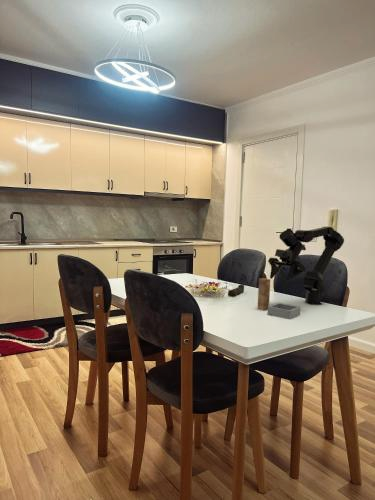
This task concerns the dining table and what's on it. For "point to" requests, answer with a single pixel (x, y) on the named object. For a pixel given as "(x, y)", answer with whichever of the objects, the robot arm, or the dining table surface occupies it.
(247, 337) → the dining table surface
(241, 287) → the hand tool
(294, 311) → the tray
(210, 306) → the dining table surface
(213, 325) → the dining table surface
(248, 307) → the dining table surface
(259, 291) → the brown wooden block
